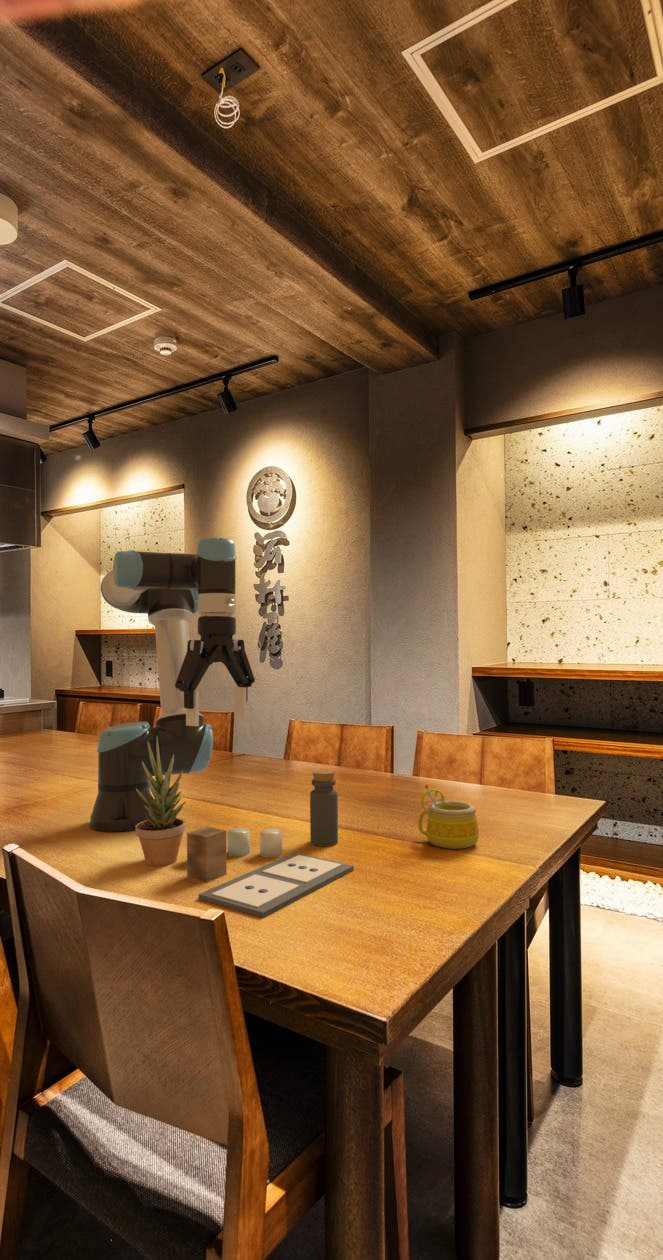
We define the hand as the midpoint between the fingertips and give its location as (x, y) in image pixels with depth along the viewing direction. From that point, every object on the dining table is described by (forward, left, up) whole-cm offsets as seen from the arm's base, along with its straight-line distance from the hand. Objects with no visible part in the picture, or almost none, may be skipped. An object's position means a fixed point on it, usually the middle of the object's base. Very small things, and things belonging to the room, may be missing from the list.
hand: (217, 722), depth 135 cm
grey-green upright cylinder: (+2, +4, -27) cm, 27 cm away
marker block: (+6, -9, -27) cm, 29 cm away
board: (+20, -5, -27) cm, 34 cm away
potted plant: (-7, -8, -27) cm, 29 cm away
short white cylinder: (+8, +7, -27) cm, 29 cm away
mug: (+35, +33, -27) cm, 55 cm away
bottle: (+12, +19, -27) cm, 35 cm away
